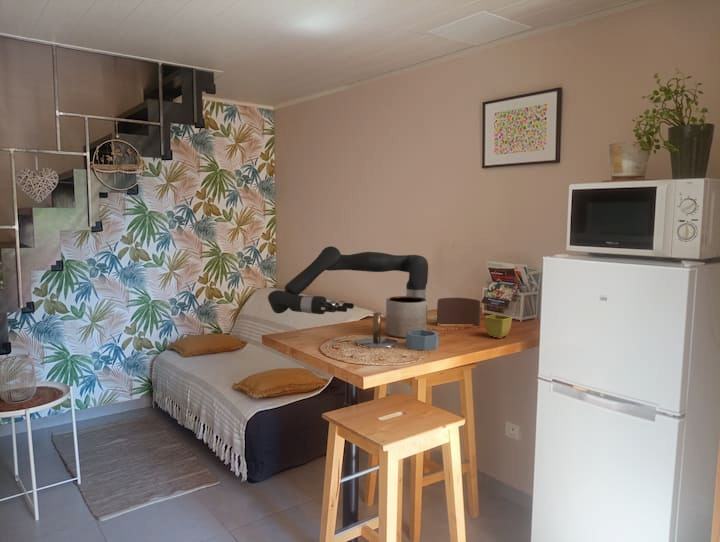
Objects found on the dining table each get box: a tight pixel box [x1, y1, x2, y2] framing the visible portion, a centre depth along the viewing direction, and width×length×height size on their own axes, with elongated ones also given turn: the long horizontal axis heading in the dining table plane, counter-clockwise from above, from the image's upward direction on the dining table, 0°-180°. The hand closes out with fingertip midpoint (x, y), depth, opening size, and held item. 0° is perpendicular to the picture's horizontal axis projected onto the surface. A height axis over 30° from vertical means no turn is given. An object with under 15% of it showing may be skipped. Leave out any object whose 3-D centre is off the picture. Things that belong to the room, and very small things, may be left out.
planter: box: [385, 295, 427, 339], centre depth 240 cm, size 18×18×16 cm
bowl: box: [405, 329, 440, 352], centre depth 218 cm, size 12×12×6 cm
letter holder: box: [436, 297, 481, 326], centre depth 260 cm, size 10×20×14 cm, turn 79°
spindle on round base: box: [355, 311, 398, 349], centre depth 222 cm, size 17×17×13 cm
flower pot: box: [484, 313, 513, 337], centre depth 236 cm, size 9×9×9 cm
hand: (350, 307), depth 225 cm, fingers open, 8 cm apart
